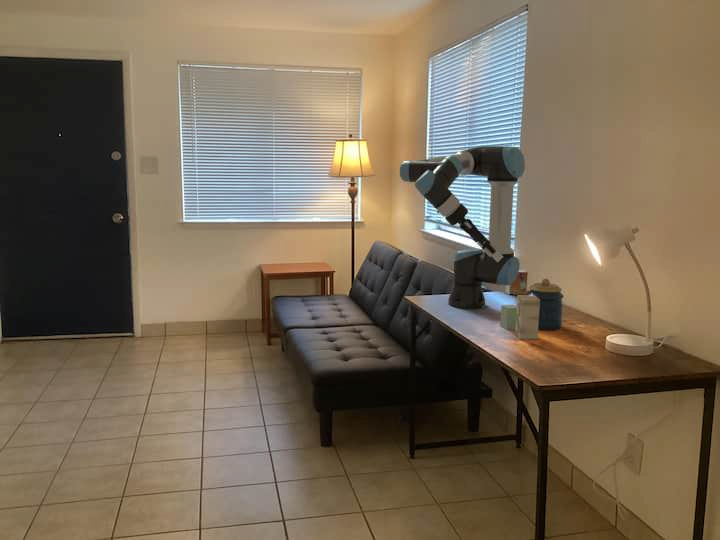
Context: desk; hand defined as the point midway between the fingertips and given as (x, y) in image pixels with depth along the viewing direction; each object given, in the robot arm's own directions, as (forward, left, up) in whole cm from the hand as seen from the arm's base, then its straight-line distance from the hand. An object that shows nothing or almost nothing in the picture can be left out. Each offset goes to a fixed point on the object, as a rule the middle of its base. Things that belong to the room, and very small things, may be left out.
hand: (496, 256), depth 215 cm
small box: (-68, +25, -28) cm, 77 cm away
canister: (-12, +21, -28) cm, 37 cm away
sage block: (-9, +8, -27) cm, 30 cm away
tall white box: (+3, +11, -27) cm, 30 cm away
